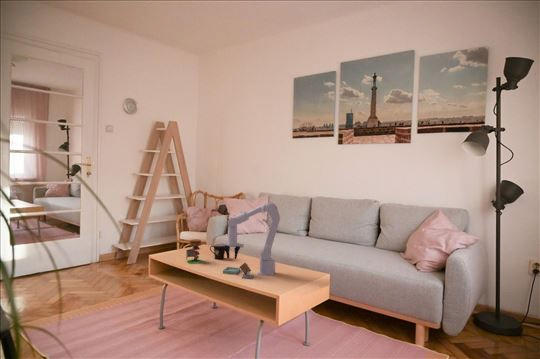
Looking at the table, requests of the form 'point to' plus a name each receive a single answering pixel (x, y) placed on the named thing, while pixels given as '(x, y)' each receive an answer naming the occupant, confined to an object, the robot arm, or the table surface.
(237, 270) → the tray
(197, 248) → the toy tree house
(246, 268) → the walnut ring block
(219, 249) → the coffee mug
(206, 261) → the table surface
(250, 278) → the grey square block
